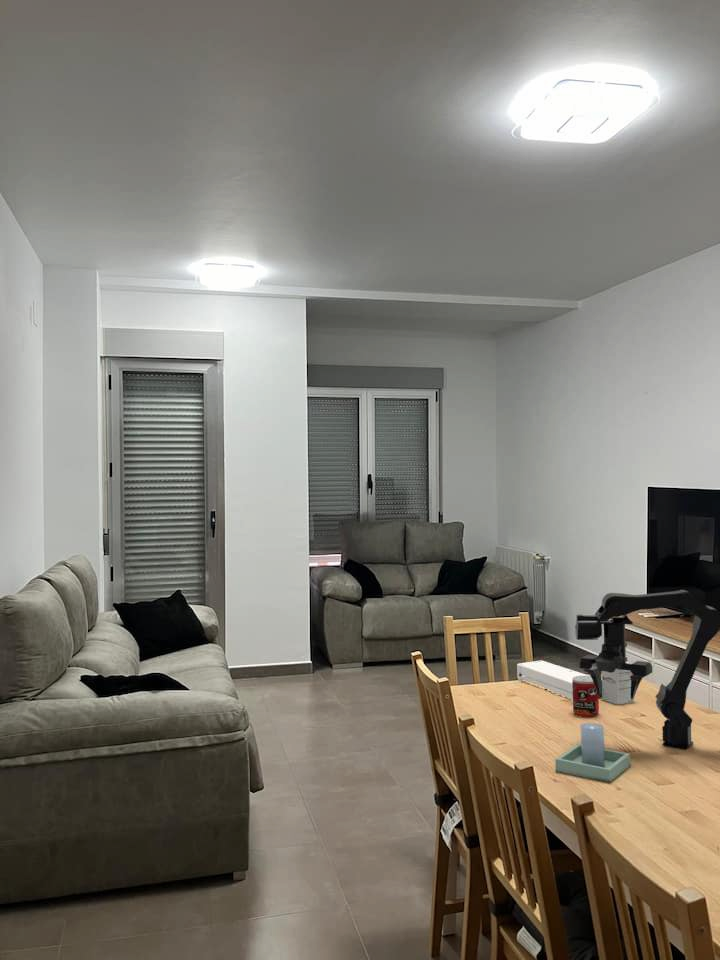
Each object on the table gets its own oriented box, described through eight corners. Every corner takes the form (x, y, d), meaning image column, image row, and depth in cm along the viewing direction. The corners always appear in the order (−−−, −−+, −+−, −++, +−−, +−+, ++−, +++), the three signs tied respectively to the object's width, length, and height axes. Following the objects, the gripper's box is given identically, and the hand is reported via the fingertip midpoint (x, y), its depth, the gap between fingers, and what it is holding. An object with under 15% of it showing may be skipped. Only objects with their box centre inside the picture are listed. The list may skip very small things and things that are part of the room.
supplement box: (601, 700, 273) (600, 661, 273) (619, 697, 276) (618, 658, 276) (617, 705, 266) (616, 666, 266) (635, 702, 269) (634, 663, 269)
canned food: (570, 716, 256) (569, 680, 256) (576, 709, 263) (575, 674, 263) (595, 719, 253) (595, 682, 253) (601, 711, 260) (600, 676, 260)
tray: (630, 765, 213) (630, 753, 213) (609, 782, 202) (609, 770, 202) (578, 755, 221) (577, 743, 221) (555, 771, 210) (555, 759, 210)
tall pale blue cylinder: (604, 762, 213) (603, 723, 213) (605, 770, 208) (603, 730, 208) (581, 761, 215) (580, 722, 215) (581, 769, 209) (580, 729, 209)
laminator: (604, 698, 276) (604, 680, 276) (574, 703, 271) (574, 684, 271) (542, 676, 307) (542, 660, 307) (514, 681, 302) (513, 663, 302)
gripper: (570, 641, 229) (571, 698, 229) (638, 648, 217) (639, 708, 217) (586, 634, 238) (587, 689, 238) (652, 641, 226) (653, 699, 226)
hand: (615, 696), depth 230 cm, fingers open, 9 cm apart
